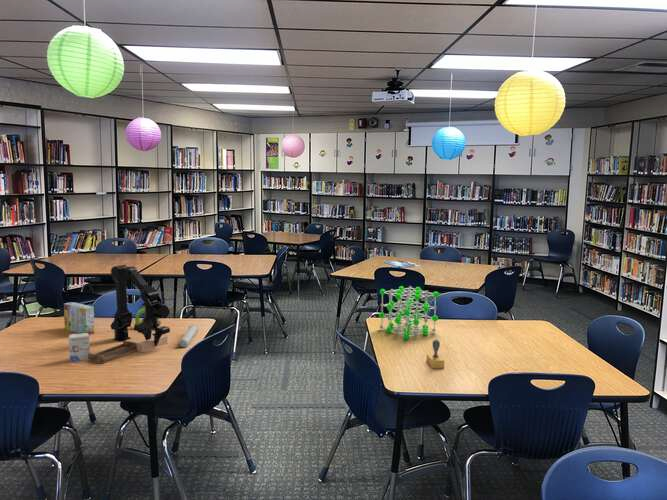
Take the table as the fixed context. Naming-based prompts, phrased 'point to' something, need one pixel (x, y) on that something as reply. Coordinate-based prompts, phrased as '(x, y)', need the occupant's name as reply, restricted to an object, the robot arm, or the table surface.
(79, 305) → the snack box
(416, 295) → the molecular structure model
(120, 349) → the wooden tray
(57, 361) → the table surface
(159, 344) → the beige long block
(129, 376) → the table surface
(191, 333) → the tube
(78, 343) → the ink box
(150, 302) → the toy lion
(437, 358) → the rubber stamp
